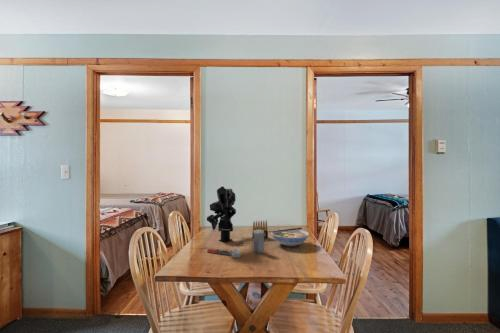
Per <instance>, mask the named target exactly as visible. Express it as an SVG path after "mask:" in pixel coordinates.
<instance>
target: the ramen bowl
mask: <svg viewBox="0 0 500 333" xmlns="http://www.w3.org/2000/svg"><path fill="white" fill-rule="evenodd" d="M269 233H271V236H272V237H273V238H274V240H275V241H276V242H277V243H279V244H281V245H283V246H285V247H290V248H291V247H296V246H298V245H301V244H303V243H304V242H306V240H307V239H308V238H309V235H310V234H309V232H308V231H304V230H303V227H295V228H287V229H286V228H280V229H276V230H272V231H271V230H270V231H269Z"/></svg>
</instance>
